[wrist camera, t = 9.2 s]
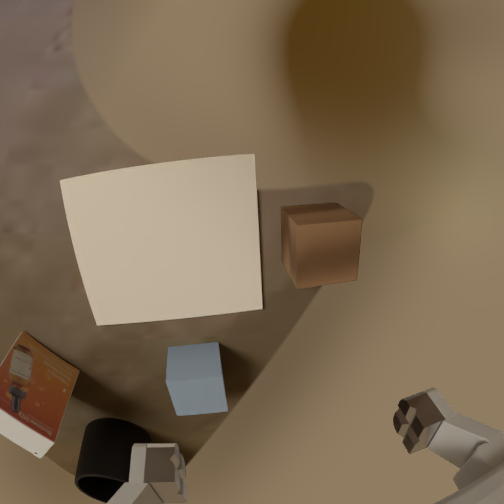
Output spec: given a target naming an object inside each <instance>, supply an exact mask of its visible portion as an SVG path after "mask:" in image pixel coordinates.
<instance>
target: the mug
mask: <svg viewBox="0 0 504 504" xmlns="http://www.w3.org/2000/svg"><path fill="white" fill-rule="evenodd" d="M134 443H149V444H153V443H152V441H151V438H150V437H149V435H148V434H147V433H146V432H145V431H144V430H142V429H141V428H139V427H137V426H135V425H133V424H131V423H128V422H125V421H122V420H117V419H109V418H103V419H97V420H94V421H92V422H90V423H89V424H88V425H87V427H86V429H85V433H84V437H83V441H82V446H81V451H80V455H79V460H78V465H77V470H76V475H75V484H76V486H77V487H78V489H79V490H80V491H82V492H83V493H85V494H86V495H88V496H90V497H92V498H94V499H96V500H99V501H102V502H105V503H107V502H108V501H109V500H110V499H111V498H112V497H113V495H114V494H115V493H116V492H117V491H118V490H119V489H120V487H121V486H122V485H123V484H124V483H125V482H129V474H130V463H131V453H132V447H133V445H134Z"/></svg>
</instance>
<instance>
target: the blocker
mask: <svg viewBox="0 0 504 504" xmlns="http://www.w3.org/2000/svg"><path fill="white" fill-rule="evenodd" d="M361 228H362V220H361V219H360V218H358V217H357V216H356V215H354V214H353V213H351V212H350V211H348V210H347V209H345V208H344V207H342V206H341V205H339V204H338V203H326V204H312V205H298V206H286V207H281V239H282V263H283V265H284V267H285V268H286V270H287V272H288V274H289V276H290V277H291V279H292V281H293V283H294V285H295V286H296V288H297V289H300V288H307V287H314V286H322V285H328V284H335V283H342V282H348V281H355V280H357V275H358V265H359V254H360V241H361Z"/></svg>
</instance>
